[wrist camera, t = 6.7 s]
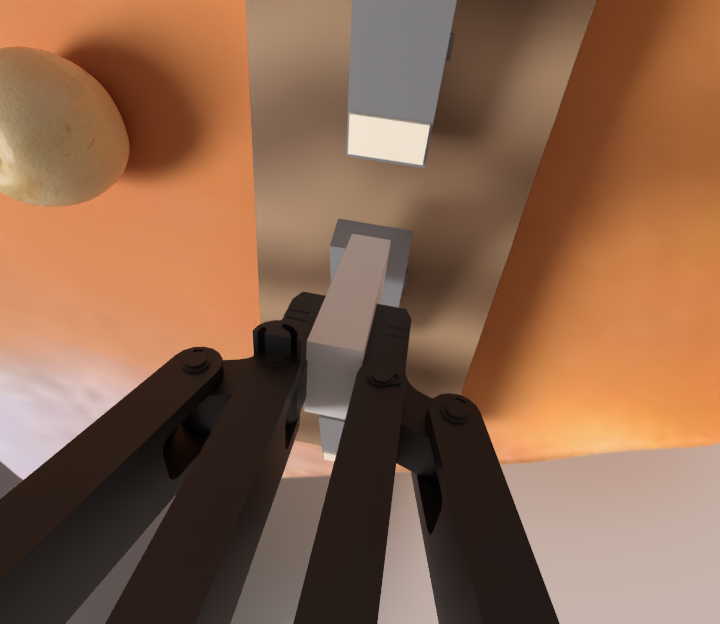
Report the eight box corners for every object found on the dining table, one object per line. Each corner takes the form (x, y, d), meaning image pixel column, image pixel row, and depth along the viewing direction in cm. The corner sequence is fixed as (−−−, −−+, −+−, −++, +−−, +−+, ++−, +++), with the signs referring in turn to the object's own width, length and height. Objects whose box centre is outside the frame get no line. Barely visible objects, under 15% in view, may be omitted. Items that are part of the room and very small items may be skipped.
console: (283, -143, 18) (217, -202, 13) (605, -110, 17) (674, -159, 12) (285, 387, 37) (259, 450, 32) (439, 417, 36) (437, 487, 31)
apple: (179, 147, 26) (88, 240, 23) (112, 149, 30) (28, 228, 27) (67, 2, 20) (-74, 101, 17) (4, 31, 25) (-118, 114, 21)
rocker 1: (325, 390, 25) (317, 419, 24) (381, 401, 24) (375, 431, 23) (328, 435, 31) (322, 459, 30) (372, 444, 31) (367, 468, 30)
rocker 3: (338, 218, 18) (328, 248, 17) (412, 230, 18) (407, 261, 17) (338, 320, 25) (331, 346, 24) (393, 330, 25) (388, 356, 24)
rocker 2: (366, -128, 12) (355, -123, 11) (477, -116, 12) (477, -110, 11) (353, 137, 19) (345, 158, 17) (427, 148, 18) (424, 170, 17)
